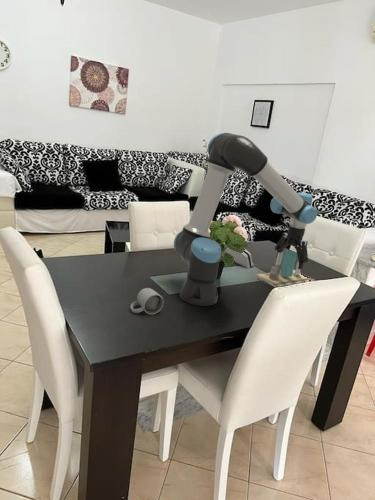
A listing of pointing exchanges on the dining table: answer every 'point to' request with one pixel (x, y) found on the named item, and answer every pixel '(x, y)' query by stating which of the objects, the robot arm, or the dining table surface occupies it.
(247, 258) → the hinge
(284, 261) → the block
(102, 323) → the dining table surface
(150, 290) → the ceramic mug
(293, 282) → the hole board
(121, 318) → the dining table surface
